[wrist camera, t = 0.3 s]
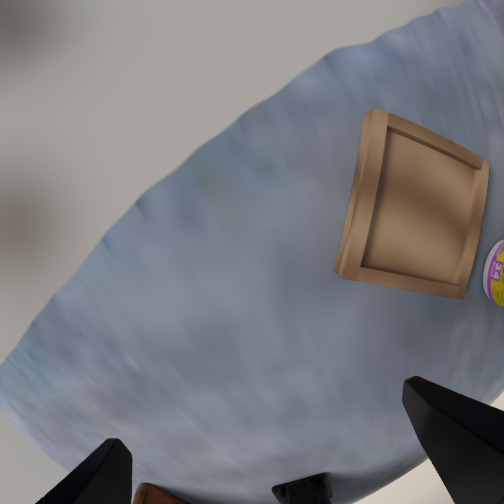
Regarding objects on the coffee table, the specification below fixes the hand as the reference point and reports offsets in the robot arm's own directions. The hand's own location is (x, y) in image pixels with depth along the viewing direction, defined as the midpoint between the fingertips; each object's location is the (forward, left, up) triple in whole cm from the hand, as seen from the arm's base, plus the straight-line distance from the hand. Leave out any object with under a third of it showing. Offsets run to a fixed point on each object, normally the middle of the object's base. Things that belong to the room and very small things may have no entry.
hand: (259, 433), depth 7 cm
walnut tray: (+1, -15, -14) cm, 20 cm away
